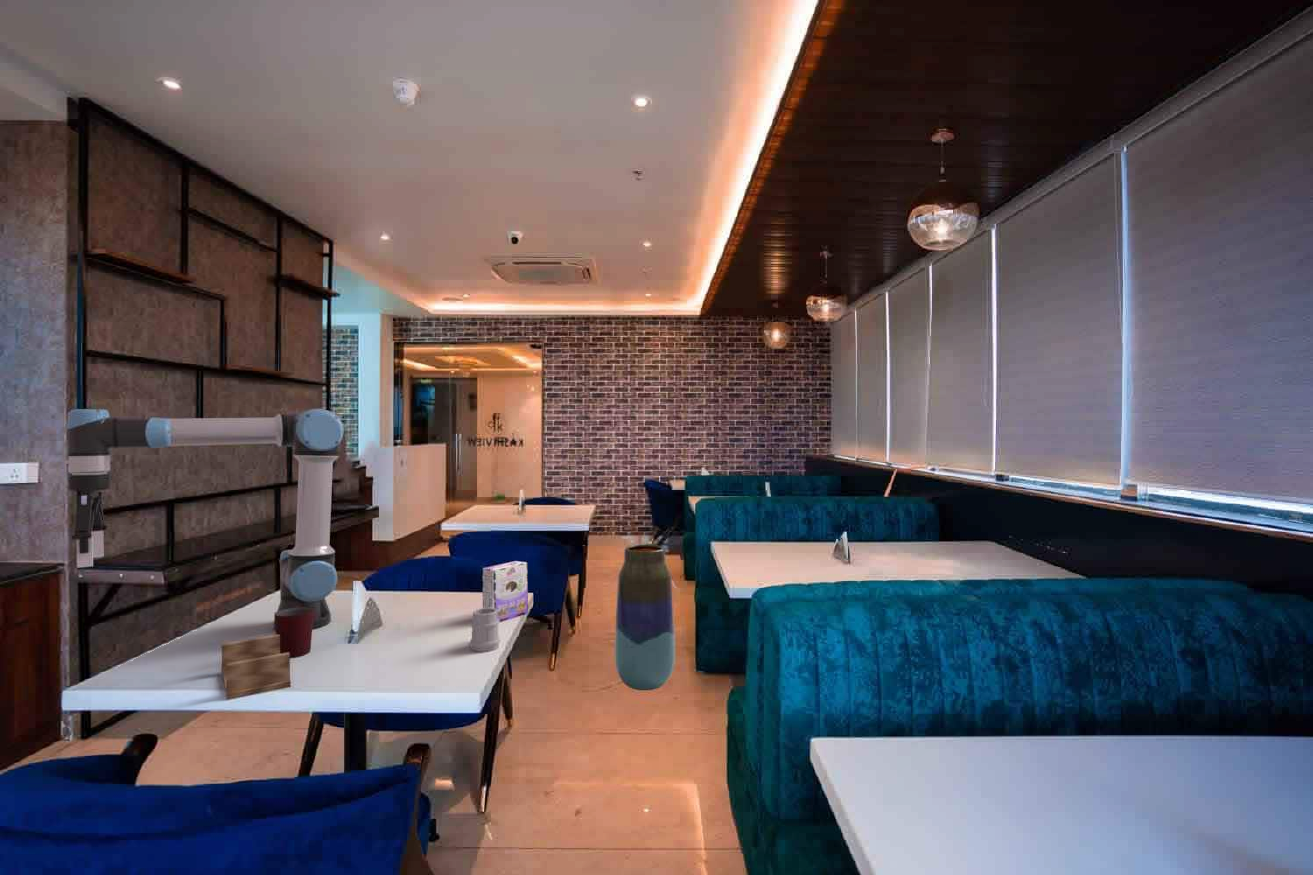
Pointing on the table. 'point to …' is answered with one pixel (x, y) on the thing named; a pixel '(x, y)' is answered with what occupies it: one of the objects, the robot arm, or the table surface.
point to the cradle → (254, 666)
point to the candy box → (506, 589)
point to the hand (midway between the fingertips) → (90, 561)
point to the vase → (644, 619)
